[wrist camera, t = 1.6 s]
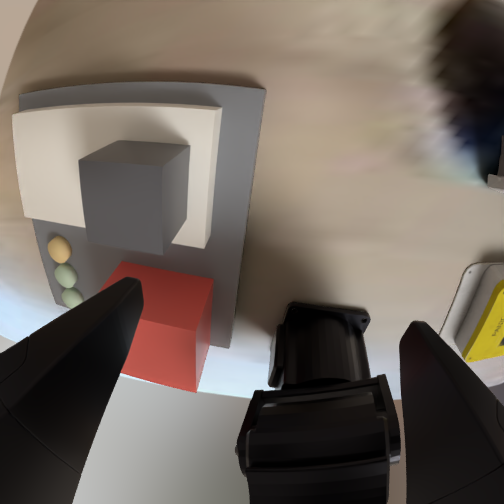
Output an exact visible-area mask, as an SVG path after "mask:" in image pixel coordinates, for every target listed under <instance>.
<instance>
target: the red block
mask: <svg viewBox="0 0 504 504" xmlns="http://www.w3.org/2000/svg"><path fill="white" fill-rule="evenodd" d="M124 277H133V278H138V279H140V281H141V284H142V291H143V298H144V307H143V310H142V313H141V316H140V320H139V323H138V326H137V329H136V332H135V335H134V338H133V341H132V345H131V348H130V351H129V354H128V356H127V359H126V361H125V363H124V366H123V368H122V370H121V373H123V374H126V375H130V376H133V377H136V378H140V379H143V380H147V381H150V382H154V383H158V384H161V385H165V386H169V387H173V388H177V389H182V390H186V391H190V392H195V393H197V389H198V385H199V382H200V378H201V374H202V371H203V367H204V363H205V360H206V356H207V352H208V349H209V345H210V331H211V313H212V297H213V283H214V279H211V278H205V277H200V276H195V275H189V274H184V273H179V272H174V271H169V270H163V269H158V268H153V267H148V266H144V265H139V264H134V263H129V262H124V261H121V263H120V264H119V265H118V267H117V268H116V269H115V270H114V272H113V273H112V274H111V276H110V277H109V278H108V280H107V281H106V283H105V284H104V285H103V287H102V288H101V289H100V291H102V290H104V289H105V288H107V287H109V286H110V285H112V284H114V283H116V282H117V281H119V280H121V279H122V278H124ZM100 291H99V292H100ZM99 292H98V293H99Z"/></svg>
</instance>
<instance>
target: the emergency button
mask: <svg viewBox="0 0 504 504" xmlns="http://www.w3.org/2000/svg"><path fill="white" fill-rule="evenodd" d="M439 336H440V337H441V338H442V339H443V340H444V341H445V342H446V343H447V344H448V345H449V346H451V345H457V347H458V349H459V351H460V352H461V354H462V357H463V358H464V360H465V361H466V362H474V361H480V360H485V359H489V358H494V357H499V356H503V355H504V262H500V263H476V264H472V265H470V266H469V267H468V268H467V269H466V270H465V272H464V273H463V276H462V279H461V282H460V285H459V287H458V290H457V293H456V295H455V298H454V301H453V303H452V306H451V308H450V311H449V313H448V315H447V318H446V320H445V322H444V325H443V327H442V329H441V331H440V334H439Z"/></svg>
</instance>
